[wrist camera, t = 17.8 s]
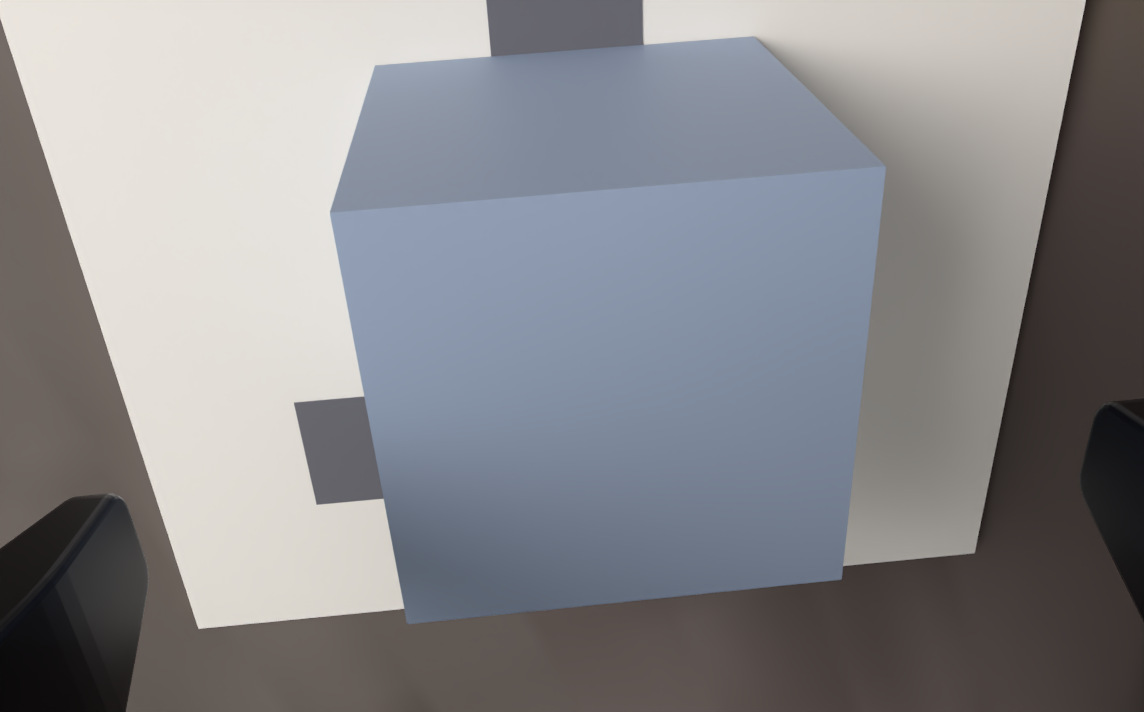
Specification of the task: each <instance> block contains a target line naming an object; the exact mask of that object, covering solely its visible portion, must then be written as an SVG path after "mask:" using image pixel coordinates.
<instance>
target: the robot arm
mask: <svg viewBox="0 0 1144 712" xmlns="http://www.w3.org/2000/svg"><path fill="white" fill-rule="evenodd" d="M1080 487H1081V492H1082V496H1083V498H1084V501H1085V503H1086V505H1087V507H1088V509H1089V511H1090V513H1091V515H1092V517H1093V519H1094V521H1095V523H1096V526H1097V528H1098V530H1099V532H1100V534H1101V536H1102V538H1103V540H1104V542H1105V544H1106V546H1107V548H1108V550H1109V552H1110V554H1111V556H1112V558H1113V560H1114V563H1115V565H1116V567H1117V569H1118V571H1119V573H1120V575H1121V577H1122V579H1123V581H1124V583H1125V585H1126V587H1127V589H1128V591H1129V593H1130V595H1131V597H1132V600H1133V602H1134V604H1135V606H1136V608H1137V610H1138V612H1139V614H1140V616H1141V618H1142V619H1143V621H1144V399H1134V400H1124V401H1113V402H1107V403H1105V404H1104V405H1102V406H1101V407H1100V408H1099V409H1098V411H1097V412H1096V414H1095V417H1094V420H1093V424H1092V428H1091V432H1090V436H1089V440H1088V443H1087V447H1086V451H1085V455H1084V459H1083V463H1082V467H1081V471H1080ZM148 579H149V578H148V568H147V563H146V559H145V556H144V553H143V551H142V548H141V545H140V542H139V539H138V536H137V533H136V530H135V527H134V525H133V522H132V519H131V516H130V513H129V510H128V508H127V505H126V503H125V502H124V500H123V499H122V498H121V497H120V496H118V495H116V494H112V493H110V494H99V495H88V496H78V497H73V498H70V499H68V500H66V501H65V502H63V503H62V504H61V505H59V506H58V507H57V508H55V509H54V510H53V511H51V512H50V513H48V514H47V515H46V516H44V517H43V518H42V519H40V520H39V521H37V522H36V523H35V524H33V525H32V526H31V527H29V528H28V529H27V530H25V531H24V532H22V533H21V534H20V535H18V536H17V537H16V538H14V539H13V540H11V541H10V542H9V543H7V544H6V545H5V546H3V547H2V548H1V549H0V712H126V707H127V702H128V696H129V691H130V685H131V680H132V674H133V669H134V663H135V658H136V652H137V647H138V641H139V636H140V630H141V624H142V619H143V613H144V608H145V602H146V597H147V591H148Z"/></svg>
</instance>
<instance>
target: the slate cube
mask: <svg viewBox="0 0 1144 712" xmlns="http://www.w3.org/2000/svg"><path fill="white" fill-rule="evenodd" d="M885 173H886V166H885V165H884V164H883V163H882V162H881V161H880V160H879V159H878V158H877V157H876V156H875V155H874V154H873V153H872V152H871V151H870V150H869V149H868V148H867V147H866V146H865V145H864V144H863V143H862V142H861V141H860V140H859V139H858V138H857V137H856V136H855V135H854V134H853V133H852V132H851V131H850V130H849V129H848V128H847V127H846V126H845V125H844V124H843V123H842V122H841V121H839V120H838V119H837V118H836V117H835V116H834V115H833V114H832V113H831V112H830V111H829V110H828V109H827V108H826V107H825V106H824V105H823V104H822V103H821V102H820V101H819V100H818V99H817V98H816V97H815V96H814V95H813V94H812V93H811V92H810V91H809V90H808V89H807V88H806V87H805V86H804V85H803V84H802V83H801V82H800V81H799V80H798V79H797V78H796V77H795V76H794V75H793V74H792V73H791V72H790V71H788V70H787V69H786V68H785V67H784V66H783V65H782V64H781V63H780V62H779V61H778V60H777V59H776V58H775V57H774V56H773V55H772V54H771V53H770V52H769V51H768V50H767V49H766V48H765V47H764V46H763V45H762V44H761V43H760V42H759V41H758V40H757V39H756V38H755V37H754V36H752V37H739V38H726V39H713V40H700V41H687V42H674V43H661V44H648V45H635V46H622V47H609V48H596V49H583V50H570V51H557V52H544V53H531V54H518V55H505V56H492V57H479V58H466V59H453V60H440V61H427V62H414V63H401V64H388V65H375V67H374V70H373V73H372V77H371V80H370V83H369V86H368V90H367V93H366V96H365V99H364V103H363V106H362V109H361V112H360V116H359V119H358V122H357V126H356V129H355V132H354V135H353V139H352V142H351V145H350V148H349V152H348V155H347V158H346V161H345V165H344V168H343V171H342V174H341V178H340V181H339V184H338V187H337V191H336V194H335V197H334V200H333V204H332V207H331V210H330V217H331V223H332V228H333V233H334V238H335V244H336V249H337V254H338V260H339V265H340V270H341V276H342V281H343V286H344V291H345V297H346V302H347V307H348V313H349V318H350V323H351V329H352V334H353V339H354V344H355V350H356V355H357V360H358V366H359V371H360V376H361V382H362V387H363V392H364V397H365V403H366V408H367V413H368V419H369V424H370V429H371V435H372V440H373V445H374V451H375V456H376V461H377V466H378V472H379V477H380V482H381V488H382V493H383V498H384V504H385V509H386V514H387V519H388V525H389V530H390V535H391V541H392V546H393V551H394V557H395V562H396V567H397V572H398V578H399V583H400V588H401V594H402V599H403V604H404V610H405V615H406V620H407V624H414V623H424V622H433V621H443V620H453V619H462V618H472V617H482V616H492V615H501V614H511V613H521V612H531V611H540V610H550V609H560V608H570V607H579V606H589V605H599V604H608V603H618V602H628V601H638V600H647V599H657V598H667V597H677V596H686V595H696V594H706V593H715V592H725V591H735V590H745V589H754V588H764V587H774V586H784V585H793V584H803V583H813V582H823V581H832V580H842V572H843V562H844V553H845V544H846V534H847V525H848V516H849V507H850V497H851V488H852V479H853V470H854V460H855V451H856V442H857V432H858V423H859V414H860V405H861V395H862V386H863V377H864V367H865V358H866V349H867V340H868V330H869V321H870V312H871V303H872V293H873V284H874V275H875V265H876V256H877V247H878V238H879V228H880V219H881V210H882V201H883V191H884V182H885Z"/></svg>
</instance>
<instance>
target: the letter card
mask: <svg viewBox="0 0 1144 712" xmlns="http://www.w3.org/2000/svg"><path fill="white" fill-rule="evenodd" d="M1085 2H1086V0H0V19H1V22H2V25H3V28H4V31H5V34H6V37H7V40H8V44H9V47H10V50H11V53H12V56H13V59H14V62H15V65H16V68H17V71H18V74H19V77H20V80H21V84H22V87H23V90H24V93H25V96H26V99H27V102H28V105H29V108H30V111H31V114H32V117H33V121H34V124H35V127H36V130H37V133H38V136H39V139H40V142H41V145H42V148H43V151H44V154H45V157H46V161H47V164H48V167H49V170H50V173H51V176H52V179H53V182H54V185H55V188H56V191H57V194H58V197H59V201H60V204H61V207H62V210H63V213H64V216H65V219H66V222H67V225H68V228H69V231H70V234H71V238H72V241H73V244H74V247H75V250H76V253H77V256H78V259H79V262H80V265H81V268H82V271H83V274H84V278H85V281H86V284H87V287H88V290H89V293H90V296H91V299H92V302H93V305H94V308H95V311H96V315H97V318H98V321H99V324H100V327H101V330H102V333H103V336H104V339H105V342H106V345H107V348H108V351H109V355H110V358H111V361H112V364H113V367H114V370H115V373H116V376H117V379H118V382H119V385H120V388H121V392H122V395H123V398H124V401H125V404H126V407H127V410H128V413H129V416H130V419H131V422H132V425H133V428H134V432H135V435H136V438H137V441H138V444H139V447H140V450H141V453H142V456H143V459H144V462H145V465H146V469H147V472H148V475H149V478H150V481H151V484H152V487H153V490H154V493H155V496H156V499H157V502H158V505H159V509H160V512H161V515H162V518H163V521H164V524H165V527H166V530H167V533H168V536H169V539H170V542H171V545H172V549H173V552H174V555H175V558H176V561H177V564H178V567H179V570H180V573H181V576H182V579H183V582H184V586H185V589H186V592H187V595H188V598H189V601H190V604H191V607H192V610H193V613H194V616H195V619H196V622H197V626H198V629H201V628H212V627H222V626H232V625H243V624H253V623H263V622H273V621H284V620H294V619H304V618H314V617H325V616H335V615H345V614H355V613H366V612H376V611H386V610H397V609H404V604H403V599H402V594H401V588H400V583H399V578H398V572H397V567H396V562H395V557H394V551H393V546H392V541H391V535H390V530H389V525H388V519H387V514H386V509H385V504H384V498H383V493H382V488H381V482H380V477H379V472H378V466H377V461H376V456H375V451H374V445H373V440H372V435H371V429H370V424H369V419H368V413H367V408H366V403H365V397H364V392H363V387H362V382H361V376H360V371H359V366H358V360H357V355H356V350H355V344H354V339H353V334H352V329H351V323H350V318H349V313H348V307H347V302H346V297H345V291H344V286H343V281H342V276H341V270H340V265H339V260H338V254H337V249H336V244H335V238H334V233H333V228H332V223H331V217H330V210H331V207H332V204H333V200H334V197H335V194H336V191H337V187H338V184H339V181H340V178H341V174H342V171H343V168H344V165H345V161H346V158H347V155H348V152H349V148H350V145H351V142H352V139H353V135H354V132H355V129H356V126H357V122H358V119H359V116H360V112H361V109H362V106H363V103H364V99H365V96H366V93H367V90H368V86H369V83H370V80H371V77H372V73H373V70H374V67H375V65H388V64H401V63H414V62H427V61H440V60H453V59H466V58H479V57H492V56H505V55H518V54H531V53H544V52H557V51H570V50H583V49H596V48H609V47H622V46H635V45H648V44H661V43H674V42H687V41H700V40H713V39H726V38H739V37H752V36H754V37H755V38H756V39H757V40H758V41H759V42H760V43H761V44H762V45H763V46H764V47H765V48H766V49H767V50H768V51H769V52H770V53H771V54H772V55H773V56H774V57H775V58H776V59H777V60H778V61H779V62H780V63H781V64H782V65H783V66H784V67H785V68H786V69H787V70H788V71H790V72H791V73H792V74H793V75H794V76H795V77H796V78H797V79H798V80H799V81H800V82H801V83H802V84H803V85H804V86H805V87H806V88H807V89H808V90H809V91H810V92H811V93H812V94H813V95H814V96H815V97H816V98H817V99H818V100H819V101H820V102H821V103H822V104H823V105H824V106H825V107H826V108H827V109H828V110H829V111H830V112H831V113H832V114H833V115H834V116H835V117H836V118H837V119H838V120H839V121H841V122H842V123H843V124H844V125H845V126H846V127H847V128H848V129H849V130H850V131H851V132H852V133H853V134H854V135H855V136H856V137H857V138H858V139H859V140H860V141H861V142H862V143H863V144H864V145H865V146H866V147H867V148H868V149H869V150H870V151H871V152H872V153H873V154H874V155H875V156H876V157H877V158H878V159H879V160H880V161H881V162H882V163H883V164H884V165H885V166H886V173H885V182H884V191H883V201H882V210H881V219H880V228H879V238H878V247H877V256H876V265H875V275H874V284H873V293H872V303H871V312H870V321H869V330H868V340H867V349H866V358H865V367H864V377H863V386H862V395H861V405H860V414H859V423H858V432H857V442H856V451H855V460H854V470H853V479H852V488H851V497H850V507H849V516H848V525H847V534H846V544H845V553H844V562H843V566H848V565H859V564H869V563H879V562H889V561H900V560H910V559H920V558H930V557H941V556H951V555H961V554H971V553H975V549H976V544H977V539H978V534H979V529H980V524H981V519H982V514H983V509H984V504H985V499H986V494H987V489H988V484H989V479H990V474H991V469H992V464H993V459H994V454H995V449H996V444H997V440H998V435H999V430H1000V425H1001V420H1002V415H1003V410H1004V405H1005V400H1006V395H1007V390H1008V385H1009V380H1010V375H1011V370H1012V365H1013V360H1014V355H1015V350H1016V345H1017V340H1018V335H1019V330H1020V325H1021V320H1022V315H1023V310H1024V305H1025V300H1026V295H1027V290H1028V286H1029V281H1030V276H1031V271H1032V266H1033V261H1034V256H1035V251H1036V246H1037V241H1038V236H1039V231H1040V226H1041V221H1042V216H1043V211H1044V206H1045V201H1046V196H1047V191H1048V186H1049V181H1050V176H1051V171H1052V166H1053V161H1054V156H1055V151H1056V146H1057V141H1058V136H1059V131H1060V127H1061V122H1062V117H1063V112H1064V107H1065V102H1066V97H1067V92H1068V87H1069V82H1070V77H1071V72H1072V67H1073V62H1074V57H1075V52H1076V47H1077V42H1078V37H1079V32H1080V27H1081V22H1082V17H1083V12H1084V7H1085Z"/></svg>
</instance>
